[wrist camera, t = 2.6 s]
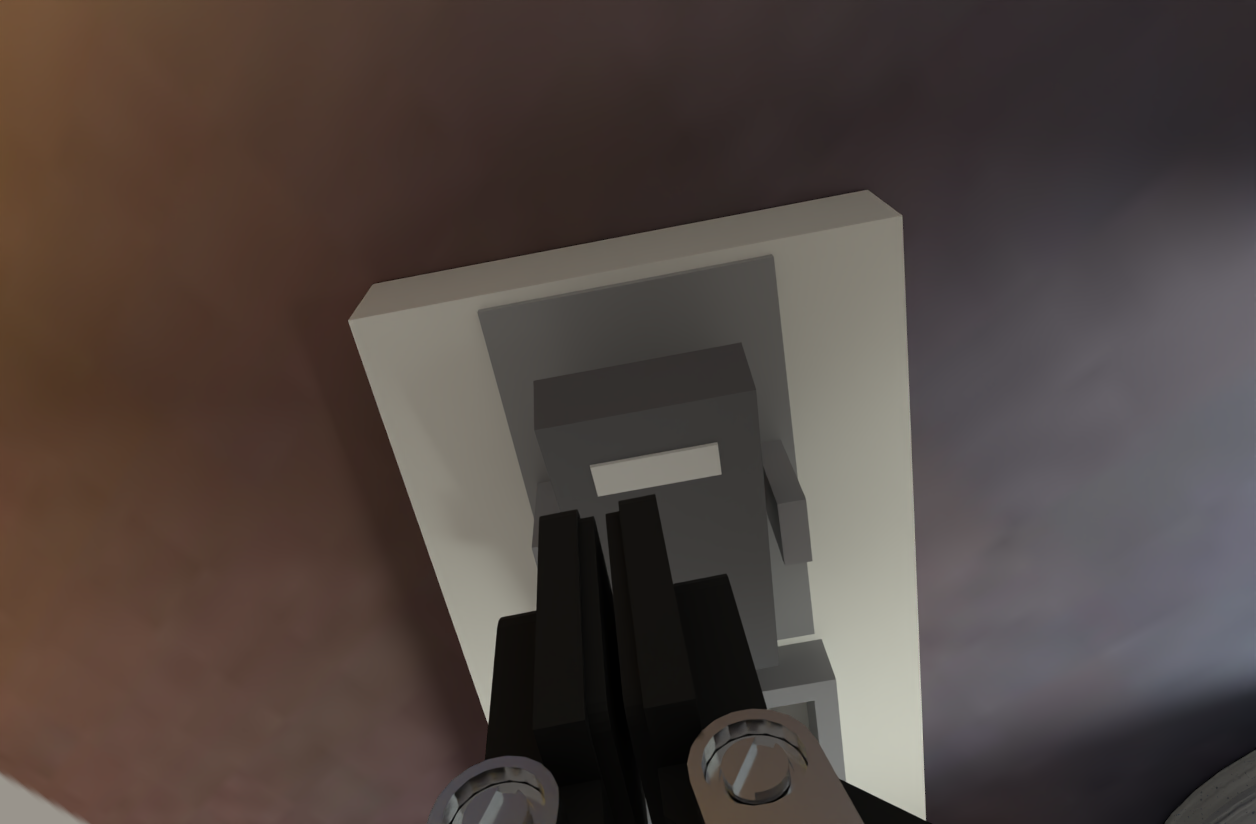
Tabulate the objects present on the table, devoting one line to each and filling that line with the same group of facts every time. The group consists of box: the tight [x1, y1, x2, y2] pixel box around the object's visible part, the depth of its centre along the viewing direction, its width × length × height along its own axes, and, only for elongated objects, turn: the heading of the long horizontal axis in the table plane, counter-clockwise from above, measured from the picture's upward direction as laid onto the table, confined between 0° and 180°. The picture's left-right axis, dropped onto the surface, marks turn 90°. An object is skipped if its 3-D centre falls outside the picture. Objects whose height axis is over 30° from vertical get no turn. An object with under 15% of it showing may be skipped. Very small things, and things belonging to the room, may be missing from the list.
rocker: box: [533, 342, 779, 669], centre depth 19 cm, size 4×9×2 cm, turn 10°
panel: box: [348, 190, 926, 821], centre depth 25 cm, size 12×29×5 cm, turn 10°
